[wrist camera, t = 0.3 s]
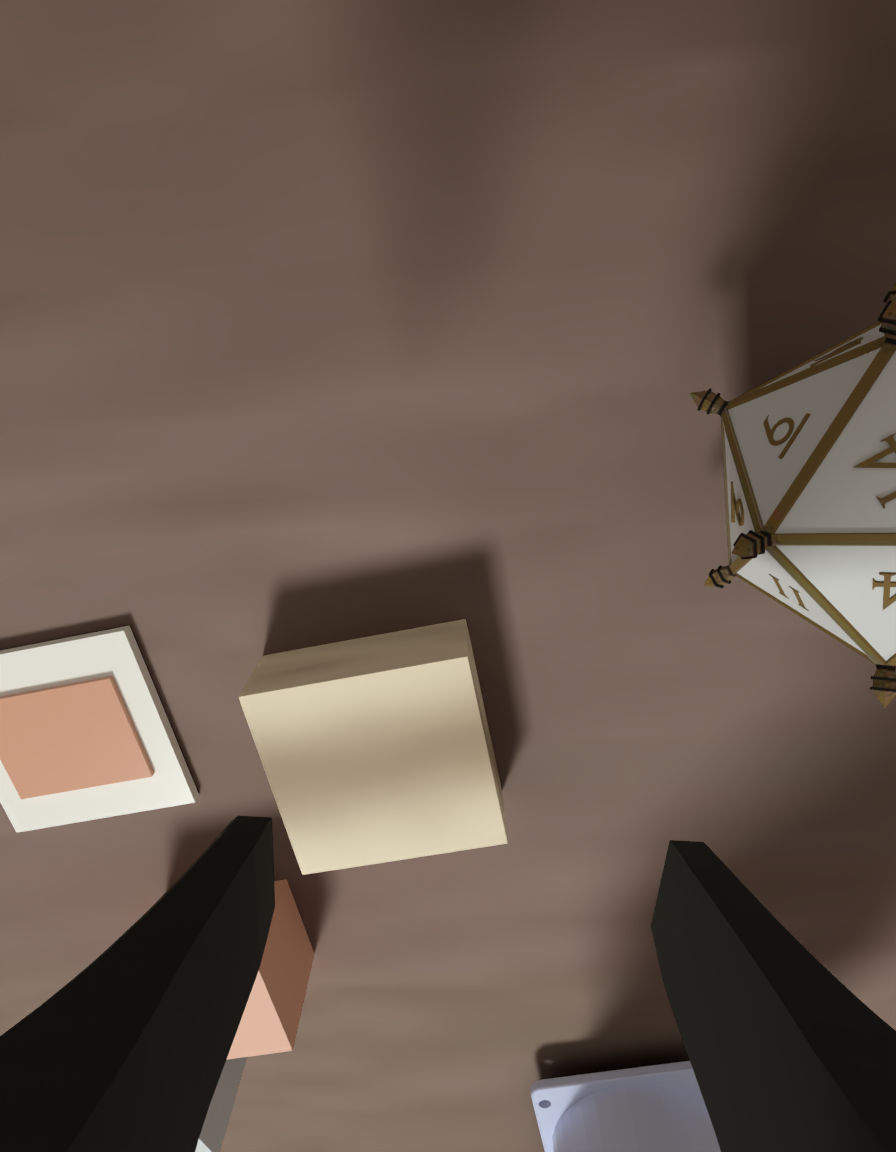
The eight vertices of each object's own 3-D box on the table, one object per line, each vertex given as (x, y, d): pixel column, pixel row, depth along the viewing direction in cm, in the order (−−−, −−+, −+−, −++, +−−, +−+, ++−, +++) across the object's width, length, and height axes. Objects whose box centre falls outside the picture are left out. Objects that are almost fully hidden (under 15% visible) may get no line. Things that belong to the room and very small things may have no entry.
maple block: (501, 784, 24) (507, 843, 21) (319, 813, 25) (302, 875, 22) (465, 615, 22) (467, 656, 19) (265, 651, 22) (238, 696, 20)
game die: (586, 514, 20) (699, 668, 11) (739, 236, 18) (1064, 121, 8) (825, 625, 22) (1113, 849, 12) (1003, 380, 19) (1550, 424, 9)
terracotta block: (314, 950, 27) (292, 1050, 23) (199, 968, 27) (159, 1069, 24) (287, 876, 26) (258, 970, 22) (166, 896, 26) (118, 990, 22)
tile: (199, 795, 24) (193, 806, 24) (23, 824, 25) (13, 836, 24) (129, 625, 22) (120, 633, 21) (-64, 662, 22) (-77, 671, 22)
